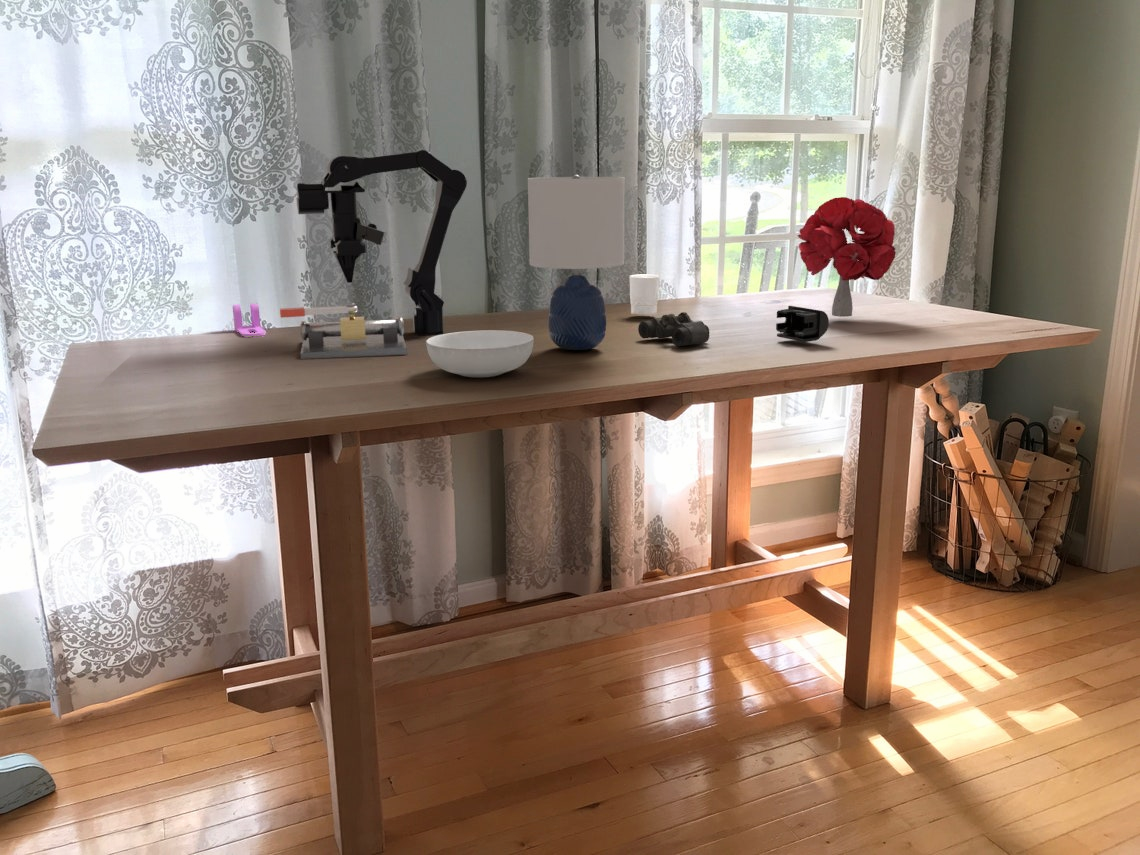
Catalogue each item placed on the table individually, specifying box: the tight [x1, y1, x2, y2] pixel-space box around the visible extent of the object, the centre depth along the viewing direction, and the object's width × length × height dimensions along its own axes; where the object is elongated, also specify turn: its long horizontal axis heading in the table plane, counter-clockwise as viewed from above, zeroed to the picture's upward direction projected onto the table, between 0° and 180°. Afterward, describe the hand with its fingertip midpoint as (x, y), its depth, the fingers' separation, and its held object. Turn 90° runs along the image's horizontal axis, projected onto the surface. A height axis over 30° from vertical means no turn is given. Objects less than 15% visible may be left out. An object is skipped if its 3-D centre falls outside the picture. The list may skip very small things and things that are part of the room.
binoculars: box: [637, 311, 710, 347], centre depth 221 cm, size 11×16×6 cm
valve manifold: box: [300, 312, 408, 360], centre depth 213 cm, size 22×20×8 cm
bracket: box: [232, 302, 267, 336], centre depth 232 cm, size 13×6×7 cm, turn 27°
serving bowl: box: [425, 329, 535, 378], centre depth 188 cm, size 21×21×7 cm
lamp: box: [527, 174, 626, 351], centre depth 208 cm, size 20×20×37 cm
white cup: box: [629, 273, 660, 316], centre depth 257 cm, size 8×8×10 cm
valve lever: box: [279, 302, 359, 319], centre depth 210 cm, size 16×3×2 cm, turn 108°
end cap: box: [775, 305, 830, 343], centre depth 221 cm, size 10×7×7 cm
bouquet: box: [797, 196, 897, 318], centre depth 248 cm, size 22×24×30 cm
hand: (349, 282), depth 224 cm, fingers closed
